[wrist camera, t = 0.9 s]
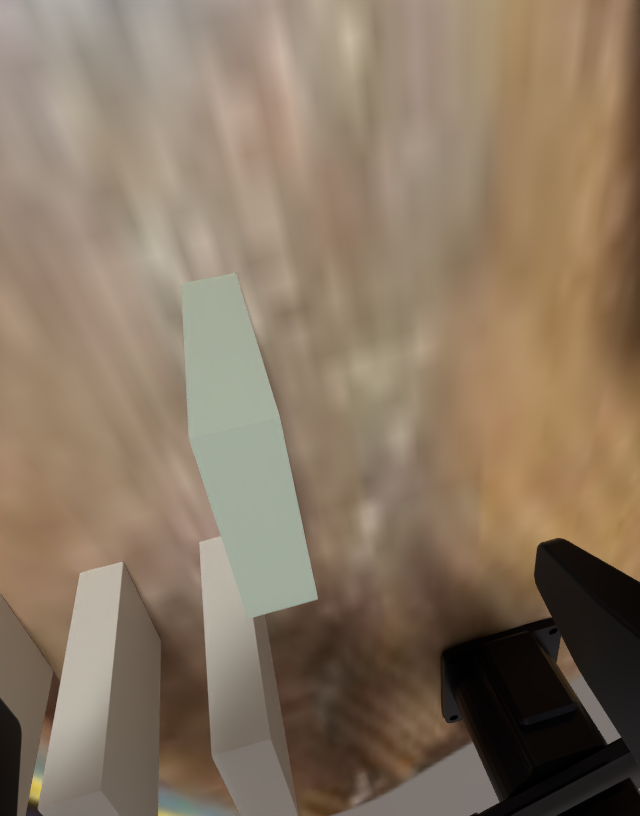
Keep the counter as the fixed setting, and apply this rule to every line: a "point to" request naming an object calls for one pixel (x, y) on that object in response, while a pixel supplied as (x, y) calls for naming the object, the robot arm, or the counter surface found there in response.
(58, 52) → the counter surface
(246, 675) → the domino
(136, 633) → the domino
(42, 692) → the domino
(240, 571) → the domino
